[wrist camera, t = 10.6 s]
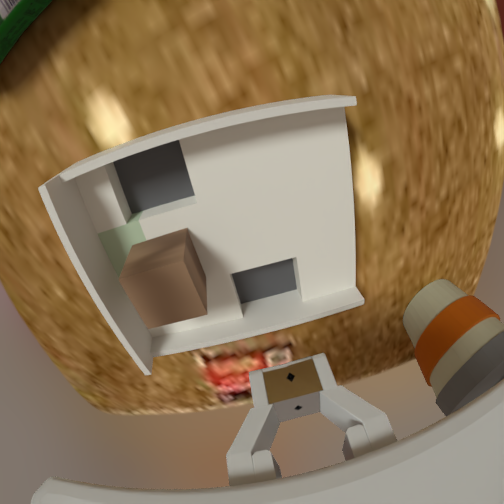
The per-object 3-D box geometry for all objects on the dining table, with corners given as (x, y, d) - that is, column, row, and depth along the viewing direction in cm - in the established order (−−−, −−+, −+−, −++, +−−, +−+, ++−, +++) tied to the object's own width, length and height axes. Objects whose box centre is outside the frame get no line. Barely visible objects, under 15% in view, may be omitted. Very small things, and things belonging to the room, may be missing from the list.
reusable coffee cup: (380, 308, 32) (444, 407, 19) (457, 249, 30) (535, 325, 17) (401, 351, 38) (446, 429, 25) (463, 303, 36) (518, 370, 23)
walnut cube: (186, 227, 21) (183, 260, 17) (206, 276, 23) (207, 314, 19) (132, 245, 21) (118, 279, 17) (155, 290, 23) (148, 329, 19)
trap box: (328, 94, 20) (371, 97, 14) (345, 276, 29) (373, 318, 23) (77, 162, 19) (38, 187, 14) (152, 324, 28) (145, 375, 23)
